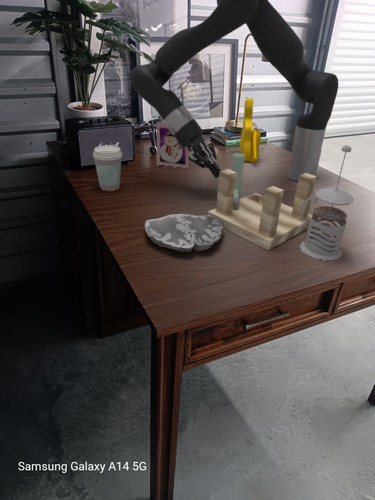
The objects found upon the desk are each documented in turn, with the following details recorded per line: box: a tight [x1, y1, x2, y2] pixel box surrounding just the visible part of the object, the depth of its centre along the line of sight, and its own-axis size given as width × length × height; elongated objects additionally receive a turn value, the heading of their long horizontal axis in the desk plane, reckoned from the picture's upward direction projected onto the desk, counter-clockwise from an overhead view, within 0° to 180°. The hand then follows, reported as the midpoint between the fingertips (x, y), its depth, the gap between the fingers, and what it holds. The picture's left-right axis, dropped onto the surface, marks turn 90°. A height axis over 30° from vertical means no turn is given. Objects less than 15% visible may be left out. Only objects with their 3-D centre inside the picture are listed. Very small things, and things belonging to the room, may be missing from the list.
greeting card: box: [156, 121, 190, 169], centre depth 135 cm, size 11×7×15 cm, turn 77°
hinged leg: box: [231, 152, 245, 209], centre depth 106 cm, size 13×3×11 cm, turn 173°
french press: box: [299, 144, 355, 261], centre depth 86 cm, size 10×12×25 cm
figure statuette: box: [239, 97, 262, 163], centre depth 141 cm, size 18×8×22 cm, turn 174°
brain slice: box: [144, 213, 225, 253], centre depth 93 cm, size 20×17×3 cm
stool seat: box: [207, 168, 317, 251], centre depth 100 cm, size 20×20×14 cm
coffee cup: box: [92, 145, 123, 192], centre depth 116 cm, size 8×9×12 cm
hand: (219, 175), depth 112 cm, fingers closed
